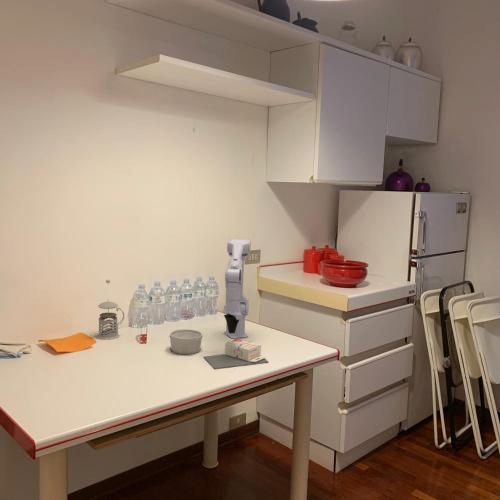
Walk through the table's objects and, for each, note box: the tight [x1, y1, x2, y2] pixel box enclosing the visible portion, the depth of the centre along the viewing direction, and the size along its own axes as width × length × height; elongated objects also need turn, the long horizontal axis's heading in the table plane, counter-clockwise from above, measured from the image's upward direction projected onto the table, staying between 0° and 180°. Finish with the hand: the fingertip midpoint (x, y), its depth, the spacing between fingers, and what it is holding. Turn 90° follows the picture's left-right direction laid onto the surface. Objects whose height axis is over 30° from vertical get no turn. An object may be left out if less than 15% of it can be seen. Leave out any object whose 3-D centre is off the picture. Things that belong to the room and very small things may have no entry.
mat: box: [203, 353, 270, 370], centre depth 195 cm, size 13×22×1 cm, turn 113°
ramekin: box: [169, 328, 203, 355], centre depth 204 cm, size 13×13×7 cm
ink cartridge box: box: [224, 338, 267, 362], centre depth 198 cm, size 9×5×15 cm
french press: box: [95, 279, 125, 341], centre depth 217 cm, size 10×12×25 cm
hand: (231, 332), depth 199 cm, fingers closed
